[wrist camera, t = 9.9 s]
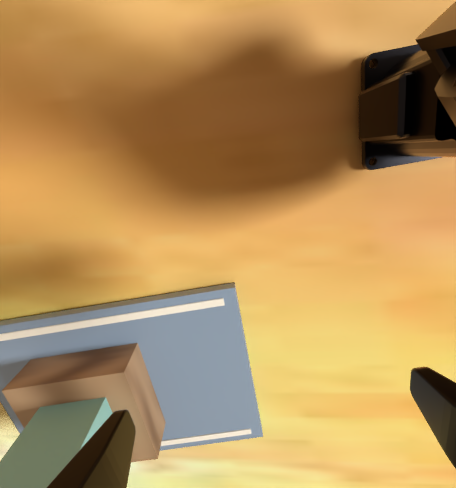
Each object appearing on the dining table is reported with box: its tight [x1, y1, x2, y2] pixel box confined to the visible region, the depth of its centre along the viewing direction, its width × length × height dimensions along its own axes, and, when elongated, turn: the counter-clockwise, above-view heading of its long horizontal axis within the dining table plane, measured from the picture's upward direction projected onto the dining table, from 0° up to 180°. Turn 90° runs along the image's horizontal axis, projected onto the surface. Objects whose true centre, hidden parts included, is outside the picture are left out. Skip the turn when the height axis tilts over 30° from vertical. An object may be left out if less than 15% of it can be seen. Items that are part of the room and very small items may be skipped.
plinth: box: [2, 343, 166, 462], centre depth 21 cm, size 9×9×3 cm
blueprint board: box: [0, 283, 263, 450], centre depth 23 cm, size 22×16×1 cm
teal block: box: [0, 397, 113, 488], centre depth 17 cm, size 5×5×6 cm
